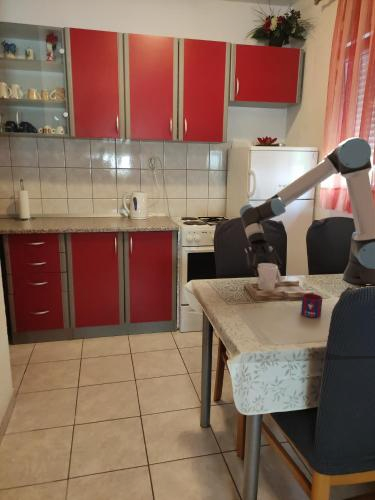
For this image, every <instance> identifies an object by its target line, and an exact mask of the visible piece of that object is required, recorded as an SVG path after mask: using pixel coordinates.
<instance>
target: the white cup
mask: <svg viewBox="0 0 375 500" xmlns="http://www.w3.org/2000/svg"><path fill="white" fill-rule="evenodd" d="M257 268H259V269H260V272H261V275H262V278H263V281H264V282H263V284H262V285H259V282H258V281H257V282H258V288H259V289H260V290H263V291H273V290H274V289H275V283H276V281H277V280H276V276H277V268H278V266H277V265H275V264H271V263H270V262H261V263H258V265H257Z"/></svg>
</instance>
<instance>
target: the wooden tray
mask: <svg viewBox="0 0 375 500" xmlns="http://www.w3.org/2000/svg"><path fill="white" fill-rule="evenodd" d="M243 286H244V288H245V289H246V291H247V292H248V293H249V294H250V296H251V297H252V298H253V300H254V301H282V300H283V301H287V300H288V301H289V300H294V301H295V300H302V297H303V295H304V294H311V293H314V291H312V290H311V291H309V290H308V291H307V290H305V289H304V288H303V287H302V286H301V285H300V280H298V279H297V280H296V279H295V280H293V279H292V280H282V282H281V283H280V284H278V282H277V280H276V283H275V289H274V290H273V291H263V290H260V289H259V288H258V281H255V282H253V281H251V282H250V281H249V282H245V284H244V285H243Z"/></svg>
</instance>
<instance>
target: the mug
mask: <svg viewBox="0 0 375 500" xmlns="http://www.w3.org/2000/svg"><path fill="white" fill-rule="evenodd" d="M322 306H323V296H321V295H319V294H317V293H314V292H313V293H311V294H304V295H303V297H302V299H301V309H300V311H301V312H300V313H301V316H303V317H305V318H308V319H319V318H321V315H322Z"/></svg>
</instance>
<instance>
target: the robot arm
mask: <svg viewBox="0 0 375 500" xmlns="http://www.w3.org/2000/svg"><path fill="white" fill-rule="evenodd" d="M371 155H372V148H371V145H370V144H369V142H368V141H367V140H366V139H364V138H361V137H357V136H354V137H350V138H347V139H345V140H343V141H341V142H340V143H339V144H338V145H336V147H335V148H334V149H333V150H331V151H330V152H329V153H328V154H326V155H325V156H324V159H323V160H321V161H320V162H318V164H316V165H315V166H314V167H312V168H311V169H309V170H307V172H305V173H304V174H301V176H299V177H298V178H297V179H295V180H294V181H292V182H290V183H289V184H288V185H286V186H285V187H284V188H282V189H281V190H279V191H278V192H277V193H276V194H273V196H271V197H269V198H267V199H266V200H265V201H264V203H262V204H259V205H256V206H255V205H254V204H251V203H250V204H249V203H248V204H245V205H243V206H242V207H241V208H240V210H239V215H240V219H241V223H242V226H243V228H244V232H245V234H246V238H247V242H248V245H249V246H246V247H245V248H244V253H245V255H246V256H245V257H246V263H247V269H248V270H249V271H252V273H253V274H254V277H255V278H257V282H259V285H262V284H263V282H264V281H263V278H262V275H261V272H260V269H259V268H258V264H259V257H260V256H263V257H264V258H265V259H266V260H267V261H268V263H271V264H275V265H277V266H278V268H277V276H276V281H277V282H278V284H280V283H281V282H282V281H283V279H282V276H281V275H282V270H281V267H282V266H283V265H284V264H283V261H282V260H281V258H280V256H279V254H278V252H277V250H276V246H275V245H271V246H270V245H269V244H268V242H267V238H266V235H265V232H264V229H263V225H262V223H265V222H266V221H269V220H271V219H274V218H276V217H279V216H281V215H282V214H285V213H286V207H287V206H290V205H291V204H292V203H293V202H294V201H297V200H298V199H299V198H301V197H302V196H303V195H305V194H307V193H308V192H309V191H311V190H312V189H314V188H315V187H316V186H318V185H319V184H321V183H322V182H324V181H326V180H327V179H328V178H329V177H331V176H332V175H335V174H336V175H338V174H340V176H341V177H344V179H345V182H346V186H347V191H348V192H347V194H348V197H349V202H350V206H351V207H350V208H351V213H352V218H353V223H354V224H353V225H354V228H355V229H354V230H355V231H354V232H352V236H351V239H350V240H351V242H350V251H349V257H348V258H349V259H348V264H347V266H346V268H345V270H344V272H343V273H342V274H343V275H342V276H343V277H342V280H344V281H345V282H347V283H351V284H354V285H359V284H375V202H374V196H373V191H372V185H371V181H370V174H369V172H371V170H372V168H373V167H372V161H371ZM252 253H253V258H252Z"/></svg>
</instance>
